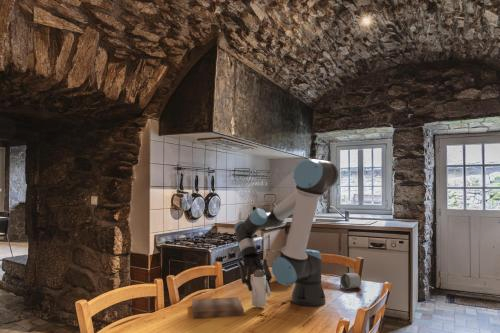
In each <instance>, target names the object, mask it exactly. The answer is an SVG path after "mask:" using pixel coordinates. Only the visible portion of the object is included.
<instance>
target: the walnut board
mask: <svg viewBox="0 0 500 333" xmlns="http://www.w3.org/2000/svg"><path fill="white" fill-rule="evenodd" d="M191 305H192V318H193V319H209V318H210V319H211V318H226V317H227V318H228V317H229V318H230V317H241V316H242V317H243V316H244V314H245V312H244V311H245V310H244V307H243V305H242V303H241V300H240V299H239V297H238V296H235V297H233V296H232V297H217V298H216V297H215V298H195V299H192V304H191Z"/></svg>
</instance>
